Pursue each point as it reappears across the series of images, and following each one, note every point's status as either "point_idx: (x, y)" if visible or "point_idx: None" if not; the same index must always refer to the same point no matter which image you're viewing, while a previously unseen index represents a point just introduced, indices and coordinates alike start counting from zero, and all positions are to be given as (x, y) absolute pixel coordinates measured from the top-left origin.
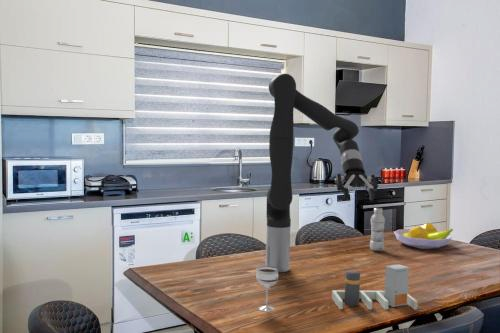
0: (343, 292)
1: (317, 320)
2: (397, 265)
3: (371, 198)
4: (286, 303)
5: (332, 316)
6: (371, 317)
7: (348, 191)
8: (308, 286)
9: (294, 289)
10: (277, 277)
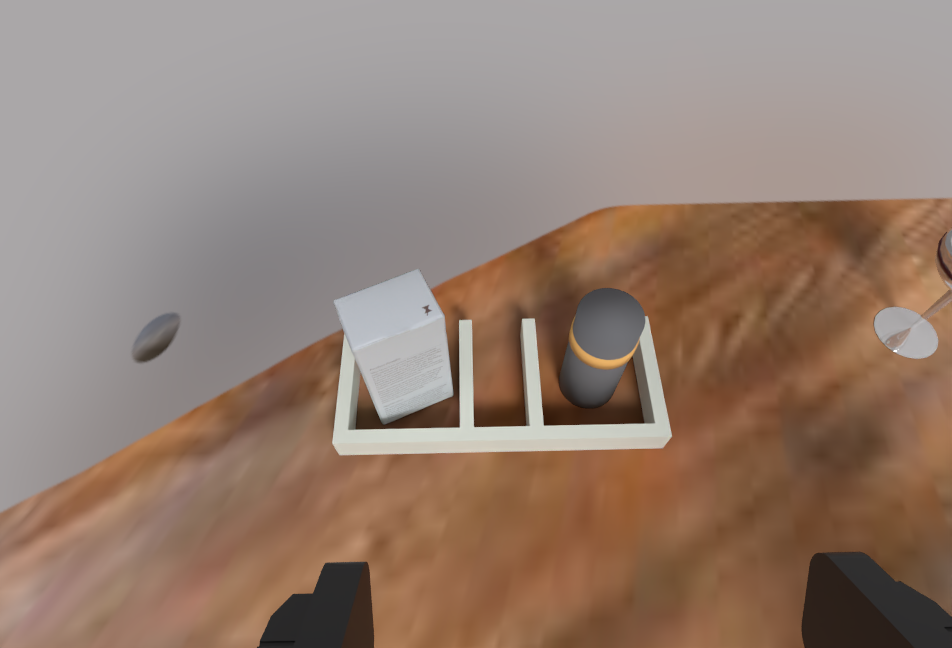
0: (619, 426)
1: (716, 249)
2: (378, 325)
3: (369, 585)
4: (844, 382)
5: (667, 277)
6: (539, 273)
7: (913, 642)
8: (781, 622)
9: None
10: (944, 239)
